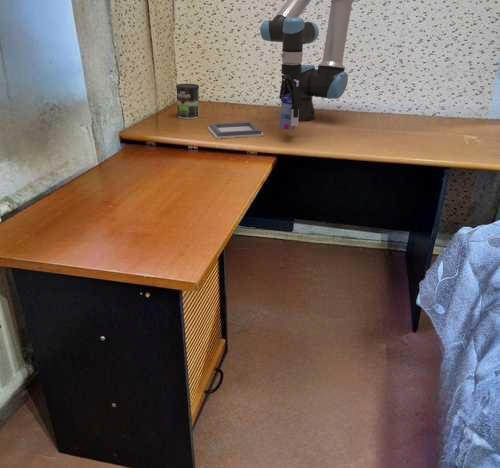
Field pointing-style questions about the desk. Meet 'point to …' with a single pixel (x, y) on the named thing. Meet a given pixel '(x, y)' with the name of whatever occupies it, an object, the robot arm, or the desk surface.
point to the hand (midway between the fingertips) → (289, 121)
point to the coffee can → (188, 101)
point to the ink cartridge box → (286, 113)
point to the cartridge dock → (234, 130)
